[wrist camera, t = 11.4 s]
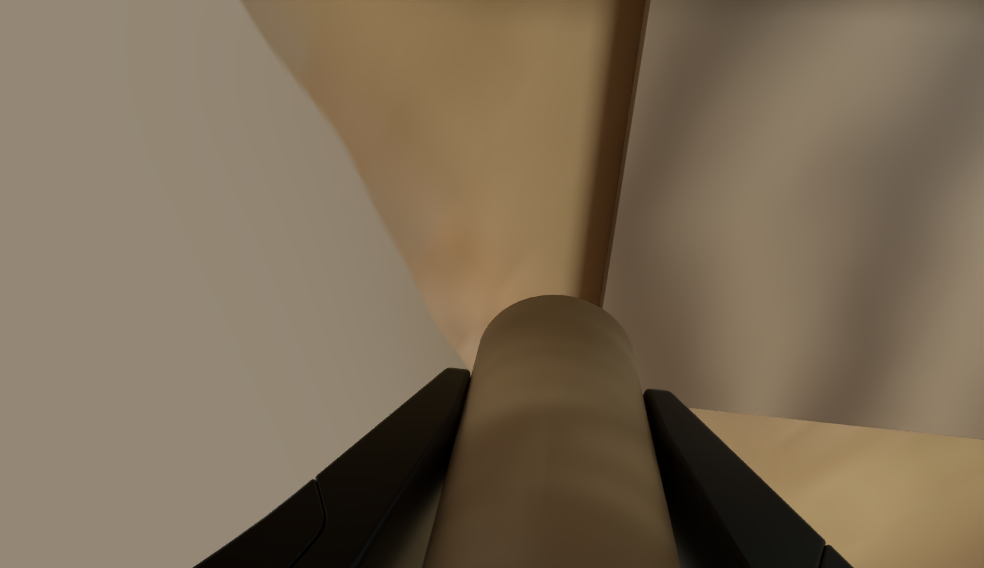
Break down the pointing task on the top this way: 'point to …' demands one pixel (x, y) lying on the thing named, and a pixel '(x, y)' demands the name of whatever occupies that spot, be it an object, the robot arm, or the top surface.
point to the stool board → (807, 211)
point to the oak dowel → (553, 450)
